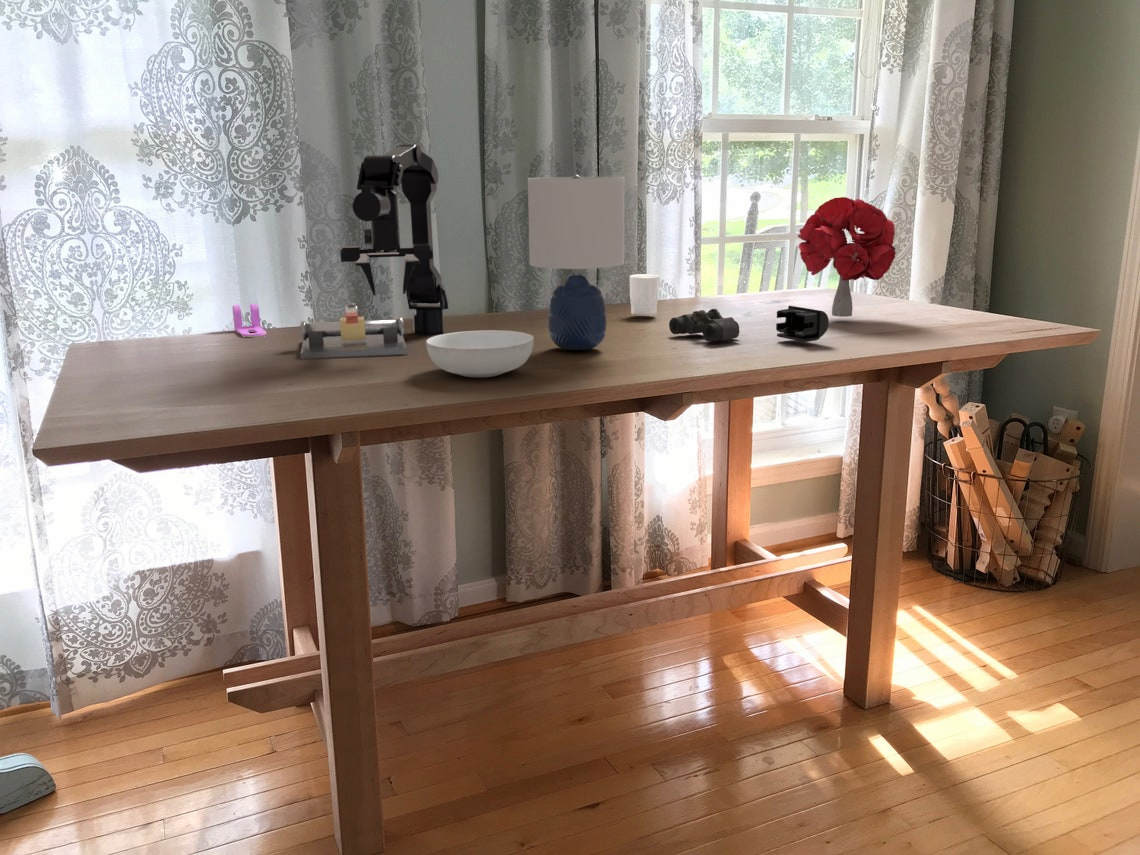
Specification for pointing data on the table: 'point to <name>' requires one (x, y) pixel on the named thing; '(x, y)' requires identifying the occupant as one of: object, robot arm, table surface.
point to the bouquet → (848, 245)
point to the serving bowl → (480, 352)
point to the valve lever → (351, 313)
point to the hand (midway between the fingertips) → (389, 294)
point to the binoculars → (705, 325)
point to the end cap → (802, 324)
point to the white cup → (644, 293)
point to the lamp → (576, 249)
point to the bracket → (254, 317)
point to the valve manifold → (353, 338)
